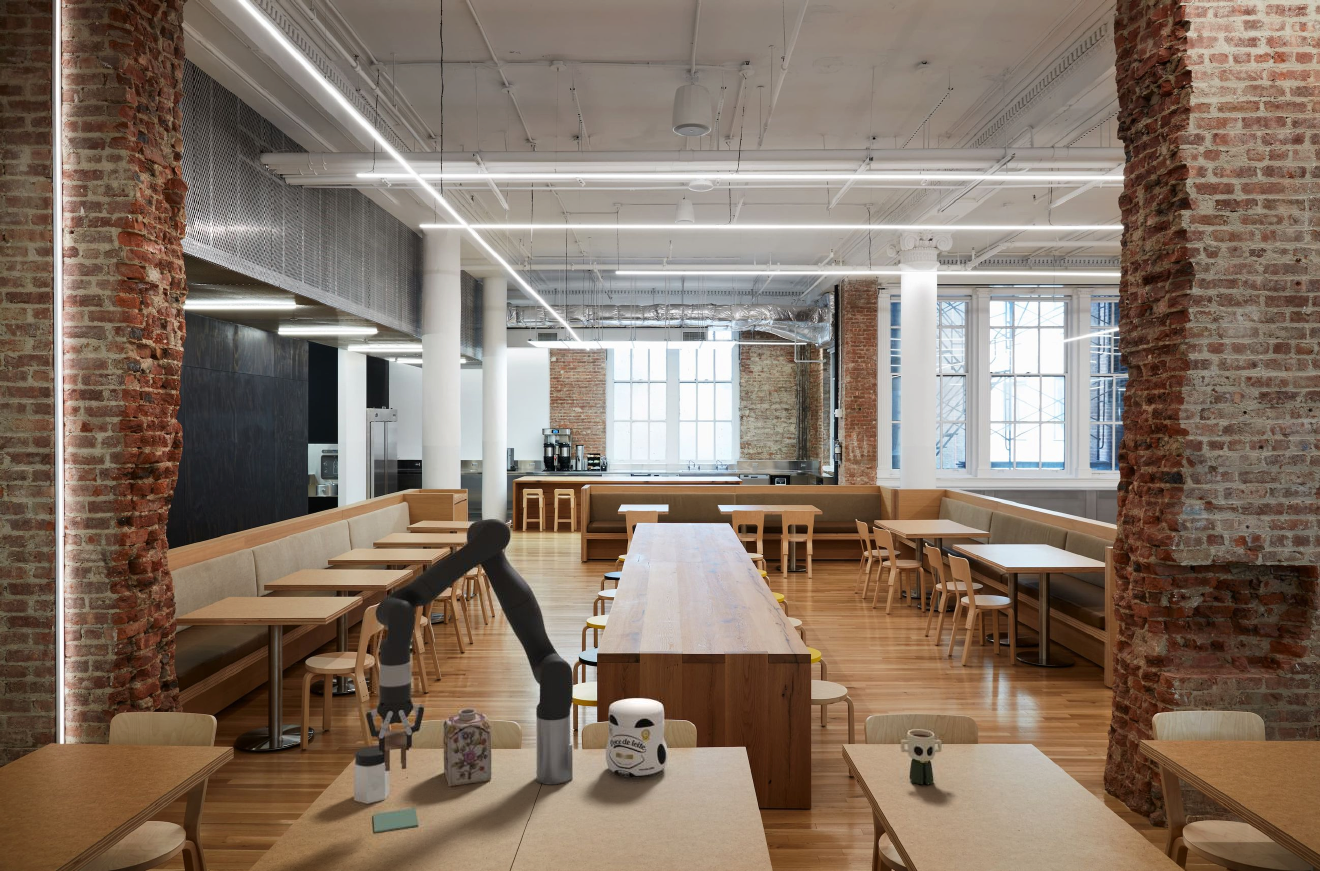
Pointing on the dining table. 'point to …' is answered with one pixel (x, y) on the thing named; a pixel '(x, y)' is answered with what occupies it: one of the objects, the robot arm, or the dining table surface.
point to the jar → (370, 775)
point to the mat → (395, 820)
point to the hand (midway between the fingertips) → (395, 750)
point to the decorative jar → (467, 748)
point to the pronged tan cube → (395, 746)
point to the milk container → (636, 738)
